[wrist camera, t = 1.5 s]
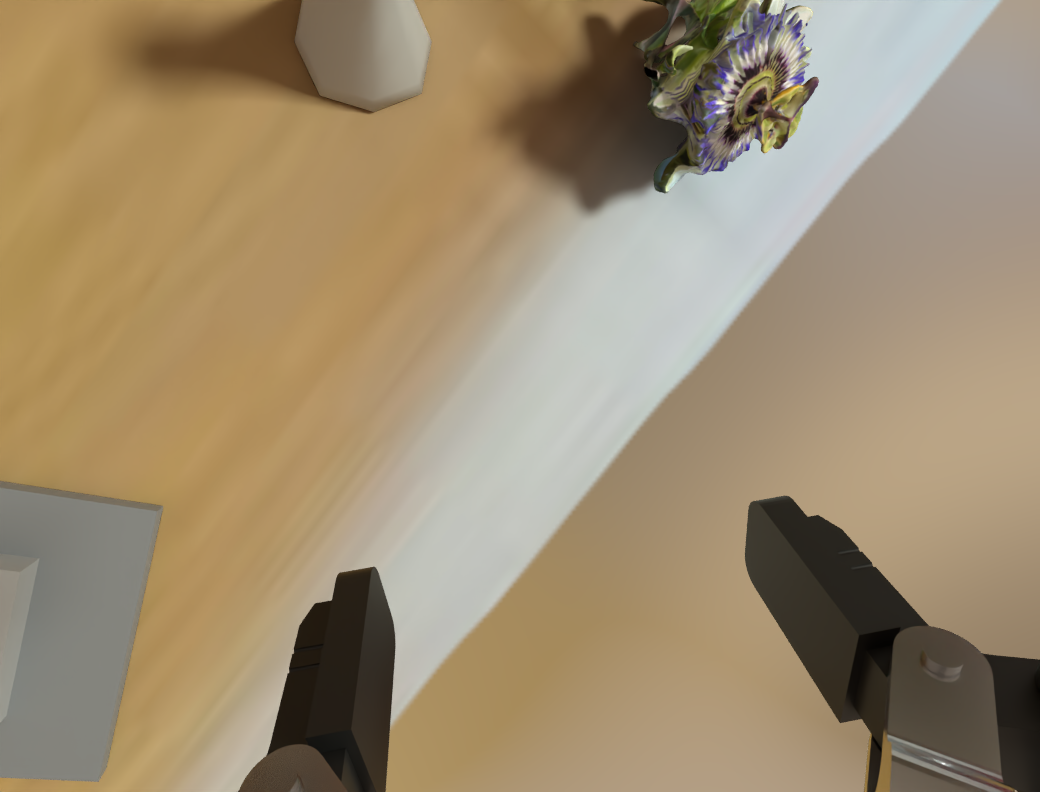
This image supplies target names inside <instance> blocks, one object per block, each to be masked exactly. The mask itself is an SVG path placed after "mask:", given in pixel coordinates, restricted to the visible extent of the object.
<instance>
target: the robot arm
mask: <svg viewBox="0 0 1040 792" xmlns="http://www.w3.org/2000/svg"><path fill="white" fill-rule="evenodd" d="M745 561H746V567H747V571H748V574H749V577H750V579H751V581H752V583H753V585H754V587H755V588H756V590H757V591H758V593H759V595H760V596H761V598H762V599H763V601H764V603H765V604H766V606H767V607H768V609H769V610H770V612H771V614H772V615H773V617H774V619H775V620H776V622H777V623H778V625H779V627H780V628H781V630H782V631H783V632H784V634H785V636H786V638H787V639H788V641H789V642H790V644H791V646H792V647H793V649H794V650H795V652H796V654H797V655H798V656H799V658H800V660H801V661H802V663H803V665H804V666H805V668H806V670H807V671H808V673H809V674H810V676H811V677H812V679H813V681H814V682H815V684H816V685H817V687H818V689H819V690H820V692H821V693H822V695H823V697H824V698H825V700H826V701H827V703H828V705H829V706H830V708H831V709H832V711H833V713H834V714H835V716H836V717H837V719H838V720H839V722H840V723H842V722H848V721H853V720H858V719H862V720H863V721H864V723H865V725H866V726H867V728H868V729H869V730H870V736H869V741H868V750H867V761H866V772H865V784H864V792H1015V790H1017V791H1018V792H1040V660H1037V659H1027V658H1017V657H1006V656H996V655H988V654H983V653H981V652H980V651H979V650H978V649H977V648H976V647H975V646H974V645H972V644H971V643H969V642H968V641H967V640H965V639H963V638H961V637H960V636H958V635H956V634H954V633H952V632H949V631H946V630H944V629H940V628H936V627H931V626H929V625H928V624H927V623H926V622H925V621H924V620H923V619H922V618H921V617H920V616H919V615H918V614H917V612H916V611H915V610H914V609H913V608H912V607H911V606H910V605H909V603H907V601H906V600H905V599H904V598H903V597H902V596H901V595H900V594H899V592H898V591H897V590H896V589H895V588H894V587H893V586H892V585H891V584H890V582H889V581H888V580H887V579H886V578H885V577H884V576H883V575H882V574H881V572H880V571H879V570H878V569H877V568H876V567H873V566H872V562H871V561H870V560H869V559H868V558H867V557H866V556H865V555H864V554H863V552H860V551H859V549H858V547H857V546H856V545H855V543H854V542H853V541H852V540H851V539H850V538H849V537H848V536H847V535H846V533H844V531H843V530H842V529H840V528H839V527H837V526H835V525H834V524H832V523H830V522H829V521H827V520H825V519H824V518H822V517H820V516H819V515H816V516H811V517H807V516H806V515H805V514H804V512H803V511H802V510H801V509H800V507H799V506H798V505H797V504H796V503H795V502H794V500H793V499H792V498H790V497H789V496H781V497H775V498H770V499H764V500H759V501H753V502H751V503H750V505H749V510H748V523H747V535H746V548H745ZM394 660H395V631H394V624H393V619H392V615H391V612H390V609H389V606H388V602H387V599H386V596H385V593H384V589H383V586H382V583H381V580H380V576H379V573H378V571H377V569H376V568H375V567H370V568H365V569H359V570H353V571H348V572H342V573H339V574H338V575H337V578H336V583H335V588H334V593H333V598H332V601H326V602H321V603H315V604H314V606H313V607H312V608H311V610H310V611H309V613H308V614H307V616H306V617H305V619H304V620H303V621H302V623H301V624H300V626H299V630H298V634H297V638H296V642H295V646H294V654H292V658H291V662H290V667H289V673H288V675H287V679H286V683H285V687H284V691H283V695H282V699H281V703H280V707H279V711H278V715H277V719H276V723H275V727H274V731H273V736H272V740H271V744H270V747H269V750H268V753H267V755H266V757H264V758H263V759H262V760H261V761H260V762H259V763H257V764H256V766H255V767H254V768H253V769H252V770H251V771H250V772H249V774H248V775H247V777H246V778H245V780H244V782H243V783H242V785H241V787H240V790H239V791H238V792H385V791H386V776H387V761H388V747H389V733H390V718H391V704H392V689H393V675H394Z"/></svg>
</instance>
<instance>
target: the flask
mask: <svg viewBox="0 0 1040 792" xmlns="http://www.w3.org/2000/svg"><path fill="white" fill-rule="evenodd" d="M294 42H295V44H296V46H297V48H298V50H299V53H300V55H301V57H302V59H303V61H304V63H305V65H306V67H307V69H308V72H309V74H310V76H311V78H312V80H313V82H314V84H315V86H316V88H317V91H318V93H319V95H320V96H323V97H326V98H330V99H333V100H336V101H339V102H343V103H346V104H349V105H353V106H356V107H359V108H363V109H366V110H369V111H372V112H375V111H378V110H380V109H383V108H386V107H388V106H391V105H393V104H396V103H399V102H401V101H404V100H406V99H409V98H412V97H414V96H417V95H419V94H422V89H423V84H424V79H425V73H426V68H427V63H428V58H429V53H430V48H431V43H432V41H431V39H430V37H429V34H428V32H427V30H426V27H425V25H424V23H423V20H422V18H421V16H420V14H419V11H418V9H417V7H416V4H415V2H414V0H302V2H301V8H300V13H299V19H298V24H297V30H296V35H295V40H294Z"/></svg>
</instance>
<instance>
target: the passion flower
mask: <svg viewBox="0 0 1040 792" xmlns="http://www.w3.org/2000/svg"><path fill="white" fill-rule="evenodd" d="M644 1H649V2H655V3H657V4H661V5H663V6H665V7H666V8H667V9H668V11H669V16H668V20H667V23H666V24H665V25H664V26H663V27H662V28H661V29H660V31H658V32H656V33H654V34H653V35H652V36H651V37H649V38H648V39H645V40H643V41H642V42H639V43H638V42H634V44H633V45H634V46H636V47H637V48H638V49H641V50H643V51H644V58H645V60H646V61H647V62H646V63H645V64H644V71H645V73H646V75H647V76H648V77H649V78H650V79H651V81H652V90H651V94H650V95H651V99H650V101H649V102H648V104H647V106H648V109H649V110H650V111H651V113H652V114H653V115H654V116H655V117H657V118H662V119H664V120H666V119H667V120H671V121H674V122H677V123H680V124H682V125H683V126H684V127H685V129H686V130H687V134H688V136H687V138H686V139H685V140H684V141H683V142H682V143H680V145H679V146H678V148H677V152H676V154H675V155H674V156H672V157H669V158H666V159H664V160H663V161H662V162H661V163H660V164H659V165H658V167H657V168H656V170H655V173H654V187H655V190H657V191H658V192H663V193H668V192H669V190H670V189H671V188H672V186H673V185H674V184H675V183H676V182H677V181H679V180H680V179H681V178H682V177H683V176H684V175H685V174H686V173H695V174H698V175H703V174H706V173H707V172H710V171H723V170H724V169H725V168H726V167H727V164H728V161H731V162H733V161H734V160H735V159H736V158H737V157H738V156H740V155H741V154H742V152H744V151H748V150H749V148H750V142H751V141H752V140H753V139H754V138H755V139H758V140H759V141H760V143H761V144H762V146H761V151H762V152H763V153H767V152H768V151H769V150H770V149H771V148H772V146H773V147H774V148H775V149H781V148H782V147H783V146H784V144H785V143H786V142H787V141H788V138H789V137H791V136H792V135H793V134H794V133H795V131H796V130H797V126H798V123H799V121H800V119H801V114H802V111H803V107H802V106H803V105H804V104H805V103H806V102H807V101H808V100H809V98H810V96H811V95H812V94H813V92H814V90H815V88H816V87H817V86H818V83H819V80H818V78H817V77H813V78H811V79H809V80H808V81H807V82H806V83H805V84H804V85H802V86H801V84H802V82H803V81H804V73H805V70H804V68H805V67H806V66H808V65H809V63H805V62H806V60H807V59H808V58H809V57H810V55H811V50H812V49H809V47H805V46H803V47H802V45H803V41H802V40H803V38H804V37H805V34H801V33H800V32H801V31H802V30H803V28H804V27H805V26H807V23H808V21H809V20H810V19H811V18H812V15H813V11H812V10H811V9H810V8H808V7H804V6H796V7H793V8H791V9H788V10H786V11H785V9H786V6H787V4H785V6H784V7H783V5H784V0H764V1H763V3H762V4H761V6H760V1H759V0H691V2H690V3H689V2H688V1H687V0H644ZM782 8H783V9H782ZM677 16H681V17H683V18H684V19H685V23H686V33H685V34H684V36H683V37H682V38H680V39H679V40H678V41H676V42H674V43H672V44H670V45H665V42H666V40H667V37H668V34H669V31H670V29H671V27H672V24H673V22H674V20H675V19H676V17H677ZM717 38H718V39H720V40H721V41H720V42H719V44H718V40H717ZM690 39H691V40H690ZM688 40H689V42H688V44H687V45H683V44H684V43H686V42H687V41H688ZM663 60H664V62H663V63H662V64H661V65H659V66H656V67H654V68H651V67H652V65H653V63H658V62H661V61H663ZM674 60H676V64H675V67H674ZM663 73H667V74H668V75H666V76H663V77H662V76H660V75H661V74H663Z"/></svg>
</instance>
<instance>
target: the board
mask: <svg viewBox="0 0 1040 792" xmlns="http://www.w3.org/2000/svg"><path fill="white" fill-rule="evenodd" d="M162 510H163V506H160V505H153V504H146V503H140V502H133V501H127V500H120V499H114V498H107V497H101V496H94V495H88V494H81V493H75V492H68V491H62V490H55V489H49V488H42V487H36V486H29V485H23V484H16V483H10V482H3V481H0V777H2V778H25V779H48V780H71V781H94V782H99V780H100V778H101V776H102V775H103V773H104V771H105V770H106V767H107V762H108V758H109V753H110V748H111V744H112V739H113V735H114V730H115V725H116V721H117V716H118V712H119V707H120V703H121V698H122V693H123V689H124V684H125V680H126V675H127V670H128V666H129V661H130V657H131V652H132V647H133V643H134V638H135V634H136V629H137V624H138V620H139V615H140V611H141V606H142V602H143V597H144V592H145V588H146V583H147V579H148V574H149V569H150V565H151V560H152V556H153V551H154V546H155V542H156V537H157V533H158V528H159V524H160V519H161V514H162Z"/></svg>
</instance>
